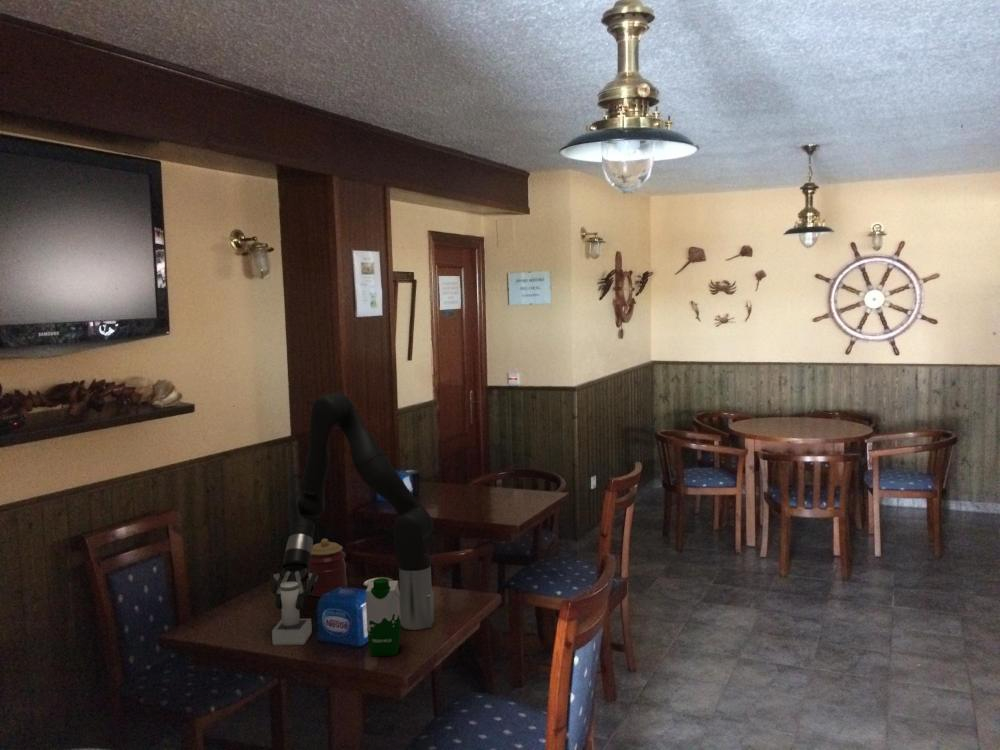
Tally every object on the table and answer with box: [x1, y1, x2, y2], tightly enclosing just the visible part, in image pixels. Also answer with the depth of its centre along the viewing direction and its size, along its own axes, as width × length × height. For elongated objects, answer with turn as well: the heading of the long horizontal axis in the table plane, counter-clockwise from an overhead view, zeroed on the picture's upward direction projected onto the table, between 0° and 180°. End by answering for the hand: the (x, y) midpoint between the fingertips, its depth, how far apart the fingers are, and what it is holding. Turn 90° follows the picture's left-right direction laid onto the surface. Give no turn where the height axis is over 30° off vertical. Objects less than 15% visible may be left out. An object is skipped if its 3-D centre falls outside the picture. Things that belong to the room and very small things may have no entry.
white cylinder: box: [279, 581, 301, 626], centre depth 233 cm, size 5×5×11 cm
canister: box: [306, 538, 348, 598], centre depth 272 cm, size 13×13×18 cm
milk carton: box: [365, 577, 402, 657], centre depth 222 cm, size 9×9×20 cm
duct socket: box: [271, 618, 313, 646], centre depth 233 cm, size 9×9×4 cm
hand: (288, 608), depth 231 cm, fingers closed on white cylinder, 4 cm apart
